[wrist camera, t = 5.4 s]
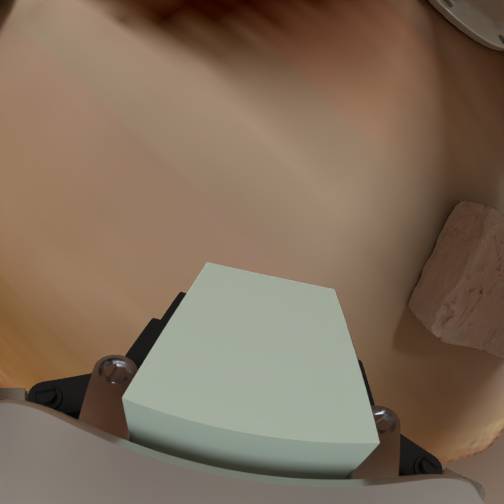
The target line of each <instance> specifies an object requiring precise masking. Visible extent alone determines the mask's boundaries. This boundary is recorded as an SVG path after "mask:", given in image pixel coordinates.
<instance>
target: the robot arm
mask: <svg viewBox="0 0 504 504" xmlns="http://www.w3.org/2000/svg"><path fill="white" fill-rule="evenodd" d="M428 1H429V2H430V3H431V4H432V5H433V6H434V8H435V9H437V10H438V11H439V12H440V13H441V14H442V15H443V16H444V17H445V18H446V19H447V20H449V21H450V22H451V23H452V24H453V25H455V26H456V27H457V28H458V29H459V30H461V31H462V32H464V33H465V34H466V35H468V36H469V37H470V38H472V39H473V40H475V41H477V42H479V43H480V44H482V45H484V46H486V47H488V48H491V49H493V50H497V51H504V0H428ZM186 294H187V293H183V292H180V293H179V294H178V296H177V297H176V298H175V300H174V301H173V303H172V304H171V306H170V307H169V309H168V310H167V311H166V313H165V314H164V316H163V317H162V319H161V320H159V319H156V318H153V319H151V321H150V322H149V323H148V325H147V326H146V327H145V329H144V330H143V332H142V333H141V334H140V336H139V337H138V338H137V340H136V341H135V343H134V344H133V346H132V347H131V348H130V350H129V351H128V353H127V354H126V355H125V356H121V355H109V356H105V357H103V358H101V359H100V360H98V361H97V362H96V364H95V366H94V368H93V372H92V373H91V374H85V375H80V376H75V377H69V378H64V379H58V380H52V381H45V382H41V383H38V384H36V385H34V386H33V387H32V388H31V389H30V391H26V389H25V388H0V504H484V502H483V501H484V497H485V492H484V488H483V487H482V485H481V484H479V483H478V482H476V481H474V480H471V479H469V478H467V477H465V476H462V475H460V474H458V473H456V472H454V471H452V470H450V469H448V468H445V469H444V470H442V466H441V463H440V462H439V460H438V459H437V458H436V457H435V456H433V455H432V454H430V453H429V452H427V451H425V450H424V449H422V448H421V447H419V446H418V445H416V444H415V443H413V442H412V441H410V440H409V439H407V438H406V437H404V436H403V435H401V434H400V420H399V418H398V417H397V415H396V414H395V413H394V412H393V411H392V410H390V409H389V408H386V407H384V406H378V405H376V406H375V405H374V401H373V398H372V394H371V391H370V387H369V384H368V381H367V377H366V374H365V371H364V367H363V364H362V362H361V361H360V360H358V358H357V360H358V363H359V367H360V370H361V373H362V377H363V380H364V384H365V387H366V391H367V395H368V398H369V402H370V406H371V409H372V413H373V417H374V421H375V425H376V429H377V433H378V437H379V441H380V443H379V445H378V446H377V447H376V448H375V449H374V450H373V451H372V452H371V453H370V454H369V456H368V457H367V458H366V459H365V460H364V461H363V462H362V463H361V464H360V465H359V466H358V467H357V468H356V469H353V470H352V471H351V472H350V473H349V474H348V475H347V476H346V477H345V478H344V480H321V479H299V478H286V477H276V476H267V475H259V474H252V473H246V472H239V471H234V470H228V469H223V468H218V467H214V466H209V465H205V464H201V463H197V462H193V461H189V460H185V459H181V458H178V457H174V456H171V455H167V454H164V453H161V452H158V451H155V450H152V449H149V448H146V447H143V446H140V445H138V444H135V443H132V441H133V440H132V436H131V432H130V429H128V425H127V421H126V416H125V411H124V406H123V401H122V397H123V395H124V393H125V392H126V390H127V388H128V387H129V385H130V383H131V382H132V380H133V378H134V377H135V375H136V373H137V372H138V370H139V368H140V367H141V365H142V364H143V362H144V360H145V359H146V357H147V355H148V354H149V352H150V351H151V349H152V347H153V346H154V344H155V342H156V341H157V339H158V338H159V336H160V334H161V333H162V331H163V330H164V328H165V327H166V325H167V323H168V322H169V320H170V319H171V317H172V316H173V314H174V312H175V311H176V309H177V308H178V306H179V305H180V303H181V301H182V300H183V298H184V297H185V295H186ZM347 328H348V327H347ZM348 331H349V330H348ZM349 334H350V333H349ZM350 337H351V336H350ZM351 340H352V339H351ZM352 344H353V342H352ZM353 347H354V345H353ZM354 350H355V349H354ZM355 353H356V352H355ZM356 357H357V355H356Z"/></svg>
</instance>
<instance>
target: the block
mask: <svg viewBox="0 0 504 504" xmlns="http://www.w3.org/2000/svg"><path fill="white" fill-rule="evenodd" d="M122 401H123V406H124V411H125V416H126V421H127V425H128V429H130V432H131V436H132V440H133V441H132V443H135V444H138V445H140V446H143V447H146V448H149V449H152V450H155V451H158V452H161V453H164V454H167V455H171V456H174V457H178V458H181V459H185V460H189V461H193V462H197V463H201V464H205V465H209V466H214V467H218V468H223V469H228V470H234V471H239V472H246V473H252V474H259V475H267V476H276V477H286V478H299V479H321V480H344V478H345V477H346V476H347V475H348V474H349V473H350V472H351V471H352V470H353V469H356V468H357V467H358V466H359V465H360V464H361V463H362V462H363V461H364V460H365V459H366V458H367V457H368V456H369V454H370V453H371V452H372V451H373V450H374V449H375V448H376V447H377V446H378V445H379V443H380V441H379V437H378V433H377V429H376V425H375V421H374V417H373V413H372V409H371V406H370V402H369V398H368V395H367V391H366V387H365V384H364V380H363V377H362V373H361V370H360V367H359V363H358V360H357V357H356V353H355V350H354V347H353V344H352V340H351V337H350V334H349V331H348V328H347V325H346V322H345V319H344V316H343V313H342V310H341V307H340V304H339V301H338V298H337V295H336V292H335V289H331V288H326V287H321V286H316V285H311V284H307V283H302V282H297V281H292V280H287V279H283V278H278V277H273V276H268V275H264V274H259V273H254V272H250V271H245V270H241V269H236V268H231V267H227V266H222V265H218V264H213V263H209V262H207V263H206V265H205V266H204V268H203V269H202V271H201V272H200V274H199V275H198V277H197V278H196V280H195V281H194V283H193V284H192V286H191V288H190V289H189V291H188V292H187V294H186V295H185V297H184V298H183V300H182V301H181V303H180V305H179V306H178V308H177V309H176V311H175V312H174V314H173V316H172V317H171V319H170V320H169V322H168V323H167V325H166V327H165V328H164V330H163V331H162V333H161V334H160V336H159V338H158V339H157V341H156V342H155V344H154V346H153V347H152V349H151V351H150V352H149V354H148V355H147V357H146V359H145V360H144V362H143V364H142V365H141V367H140V368H139V370H138V372H137V373H136V375H135V377H134V378H133V380H132V382H131V383H130V385H129V387H128V388H127V390H126V392H125V393H124V395H123V397H122Z"/></svg>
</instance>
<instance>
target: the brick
mask: <svg viewBox="0 0 504 504" xmlns="http://www.w3.org/2000/svg"><path fill="white" fill-rule="evenodd" d="M421 274H422V275H421V278H420V280H419V282H418V284H417V286H416V287H415V288H414V291H413V293H412V295H411V296H410V301H409V303H408V306H409V308H410V310H411V311H412V313H413V314H414V315H415V316H416V318H417V319H418V320H420V321H421V322H422V323H423V325H424V328H425V329H427V330H428V331H429V332H431V333H432V334H433V335H435V336H436V337H437V338H438V339H439V340H440V341H442V342H444V343H449V344H453V345H457V346H463V347H470V348H475V349H478V350H484V351H486V352H487V353H489V354H491V355H494V356H496V357H499V358H502V359H504V216H503V214H502V213H501V212H500V211H498V210H497V209H495V208H494V207H492V206H490V205H489V204H488V205H486V206H485V205H482V204H480V203H478V202H477V203H471V202H469V201H461V202H460V203H459V204H457V205H456V206H455V208H454V210H453V211H452V212H451V214H450V215H449V217H448V218H447V220H446V223H445V225H444V227H443V229H442V231H441V232H440V235H439V237H438V239H437V243H436V246H435V248H434V250H433V252H432V254H431V256H430V258H429V259H428V261H427V262H426V264H425V265H424V267H423V270H422V273H421Z"/></svg>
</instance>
